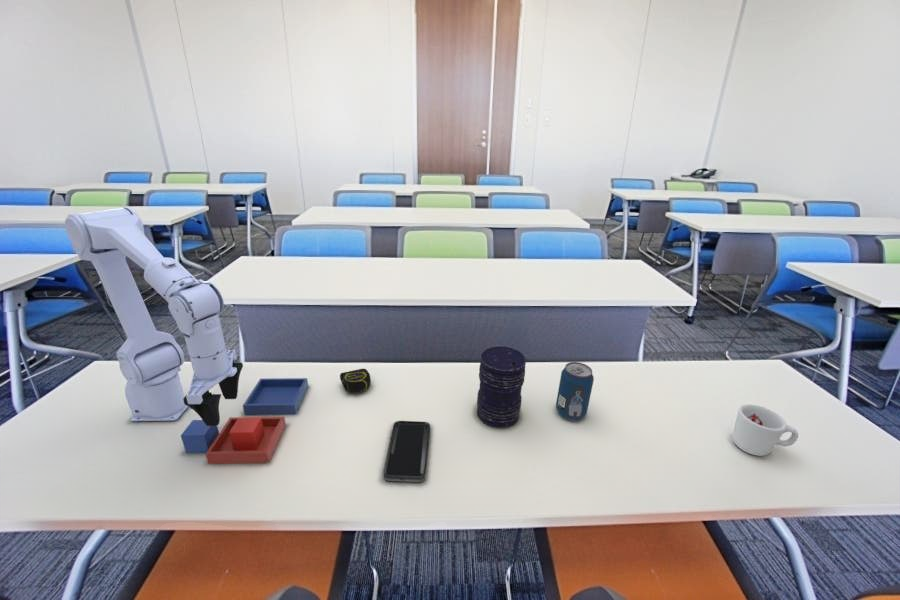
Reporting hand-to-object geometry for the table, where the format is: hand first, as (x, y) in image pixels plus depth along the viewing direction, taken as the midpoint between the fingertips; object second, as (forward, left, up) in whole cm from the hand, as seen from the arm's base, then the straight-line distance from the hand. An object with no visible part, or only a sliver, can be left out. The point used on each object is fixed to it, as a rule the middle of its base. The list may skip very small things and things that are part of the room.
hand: (222, 410), depth 77 cm
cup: (+109, -4, -9) cm, 109 cm away
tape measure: (+22, +19, -9) cm, 30 cm away
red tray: (+4, 0, -8) cm, 9 cm away
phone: (+36, -3, -8) cm, 37 cm away
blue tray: (+5, +14, -8) cm, 17 cm away
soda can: (+73, +8, -9) cm, 74 cm away
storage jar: (+56, +8, -9) cm, 57 cm away
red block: (+4, 0, -8) cm, 9 cm away
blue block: (-5, 0, -8) cm, 10 cm away
